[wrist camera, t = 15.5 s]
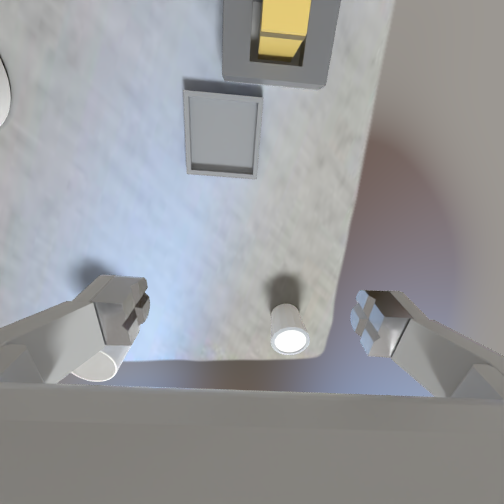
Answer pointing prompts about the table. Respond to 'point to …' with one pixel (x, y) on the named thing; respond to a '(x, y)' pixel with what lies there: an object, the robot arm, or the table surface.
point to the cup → (102, 363)
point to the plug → (282, 28)
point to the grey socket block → (268, 71)
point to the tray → (222, 134)
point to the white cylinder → (288, 330)
